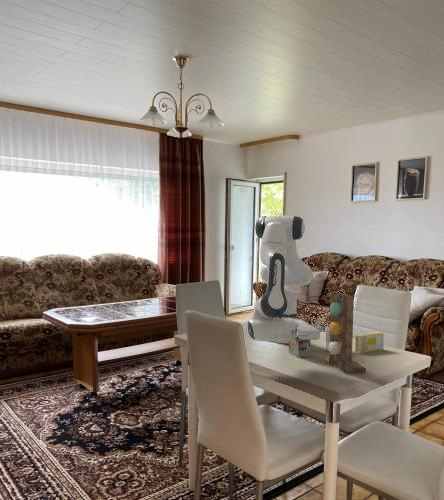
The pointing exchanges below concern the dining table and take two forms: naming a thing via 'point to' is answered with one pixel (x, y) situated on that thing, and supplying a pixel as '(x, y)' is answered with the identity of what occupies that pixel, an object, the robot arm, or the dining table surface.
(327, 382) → the dining table surface
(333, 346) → the cream button
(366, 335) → the candy box
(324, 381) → the dining table surface
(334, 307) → the teal button
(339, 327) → the orange button
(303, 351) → the coffee box
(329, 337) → the white cup
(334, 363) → the button panel
